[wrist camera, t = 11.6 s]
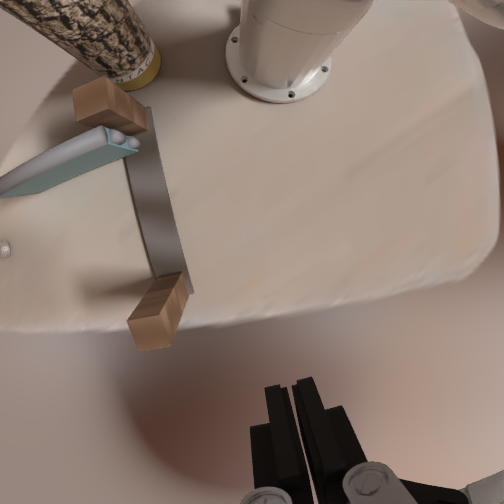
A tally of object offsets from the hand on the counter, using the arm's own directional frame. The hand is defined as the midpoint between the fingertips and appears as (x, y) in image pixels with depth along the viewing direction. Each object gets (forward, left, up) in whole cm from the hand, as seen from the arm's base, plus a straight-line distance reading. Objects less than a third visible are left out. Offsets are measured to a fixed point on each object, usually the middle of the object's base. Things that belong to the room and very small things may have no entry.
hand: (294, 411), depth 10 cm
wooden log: (-25, -9, -27) cm, 38 cm away
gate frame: (-8, -10, -27) cm, 30 cm away
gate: (-14, -17, -26) cm, 34 cm away
